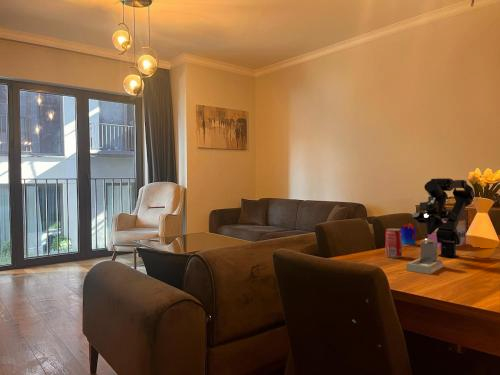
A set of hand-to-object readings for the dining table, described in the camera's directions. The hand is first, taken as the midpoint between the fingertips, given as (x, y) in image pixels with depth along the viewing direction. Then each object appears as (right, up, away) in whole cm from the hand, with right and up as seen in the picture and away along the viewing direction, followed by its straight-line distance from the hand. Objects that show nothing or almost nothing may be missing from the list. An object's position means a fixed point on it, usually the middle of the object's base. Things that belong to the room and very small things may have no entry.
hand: (429, 234), depth 168 cm
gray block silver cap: (-3, -11, -7) cm, 13 cm away
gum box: (+29, -11, +42) cm, 52 cm away
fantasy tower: (+9, -11, +44) cm, 46 cm away
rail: (-6, -13, -10) cm, 17 cm away
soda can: (-11, -12, +13) cm, 21 cm away
